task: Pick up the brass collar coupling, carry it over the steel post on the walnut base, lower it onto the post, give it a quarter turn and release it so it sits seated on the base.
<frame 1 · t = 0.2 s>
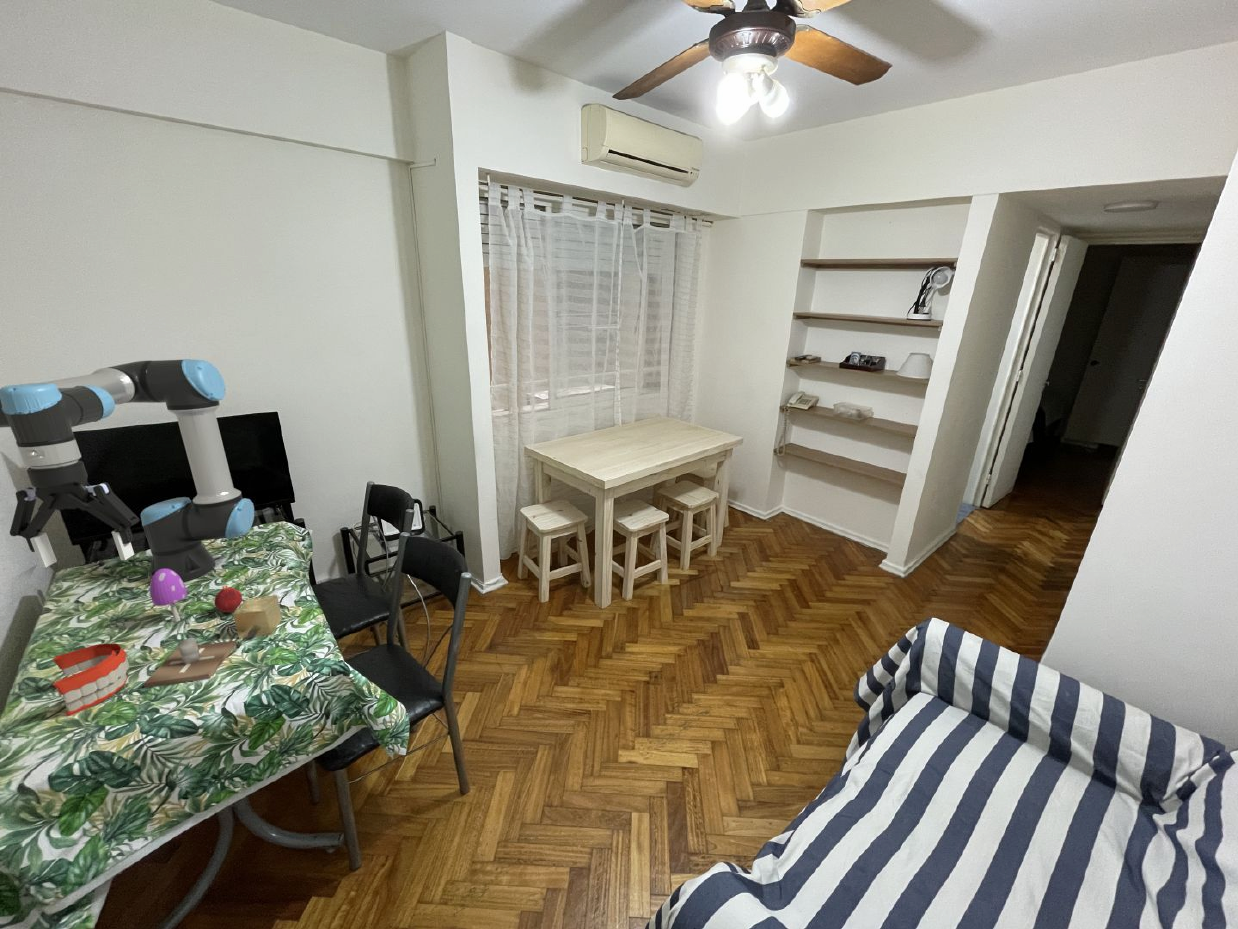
hand: (89, 561, 102), 28 cm above the table, fingers open, 13 cm apart
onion: (232, 612, 133), on the table
toy: (177, 621, 129), on the table
post block: (193, 665, 112), on the table
coupling: (261, 628, 126), on the table
toy 2: (101, 690, 105), on the table
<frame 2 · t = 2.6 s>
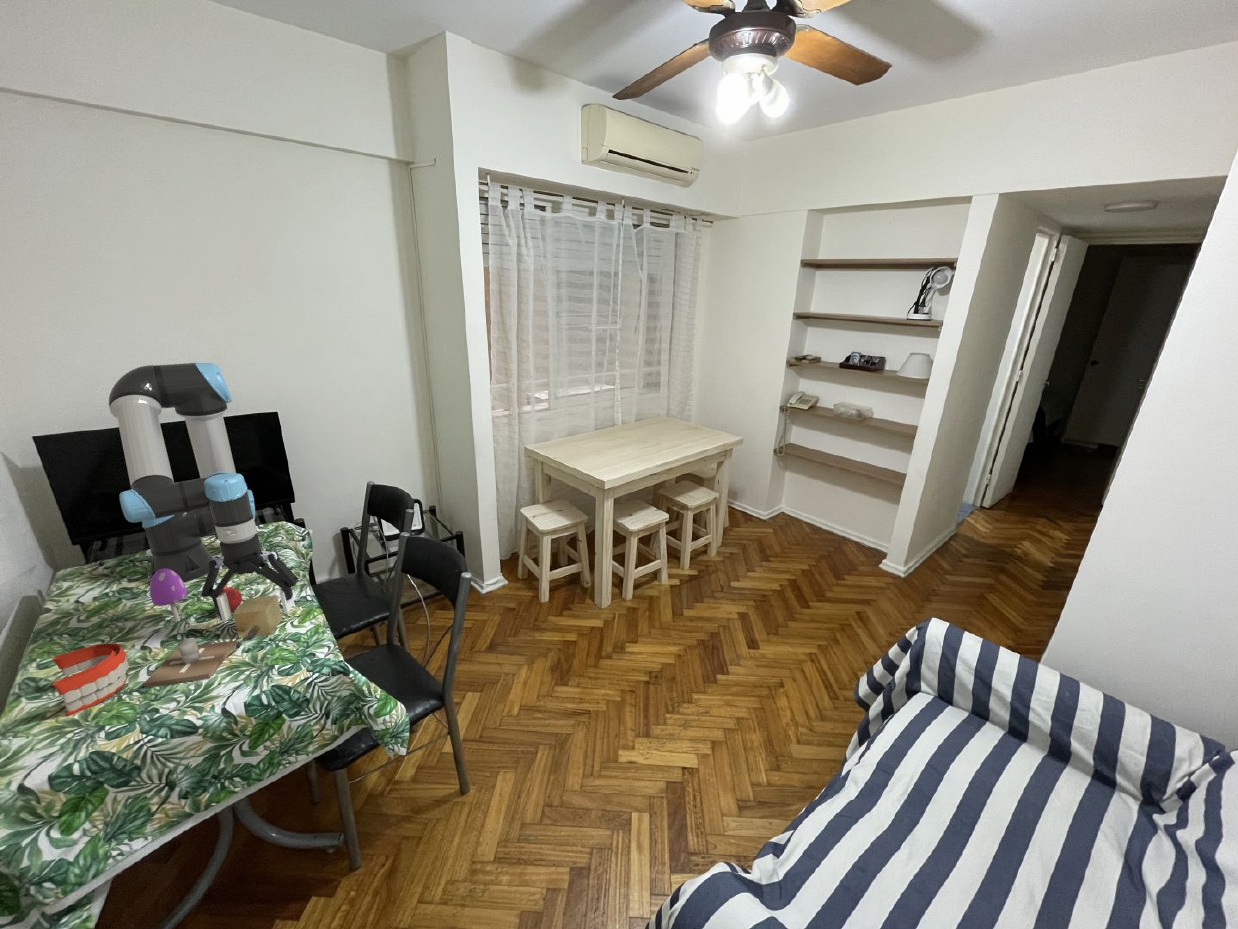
hand: (258, 614, 124), 4 cm above the table, fingers open, 13 cm apart
nothing on the table moved.
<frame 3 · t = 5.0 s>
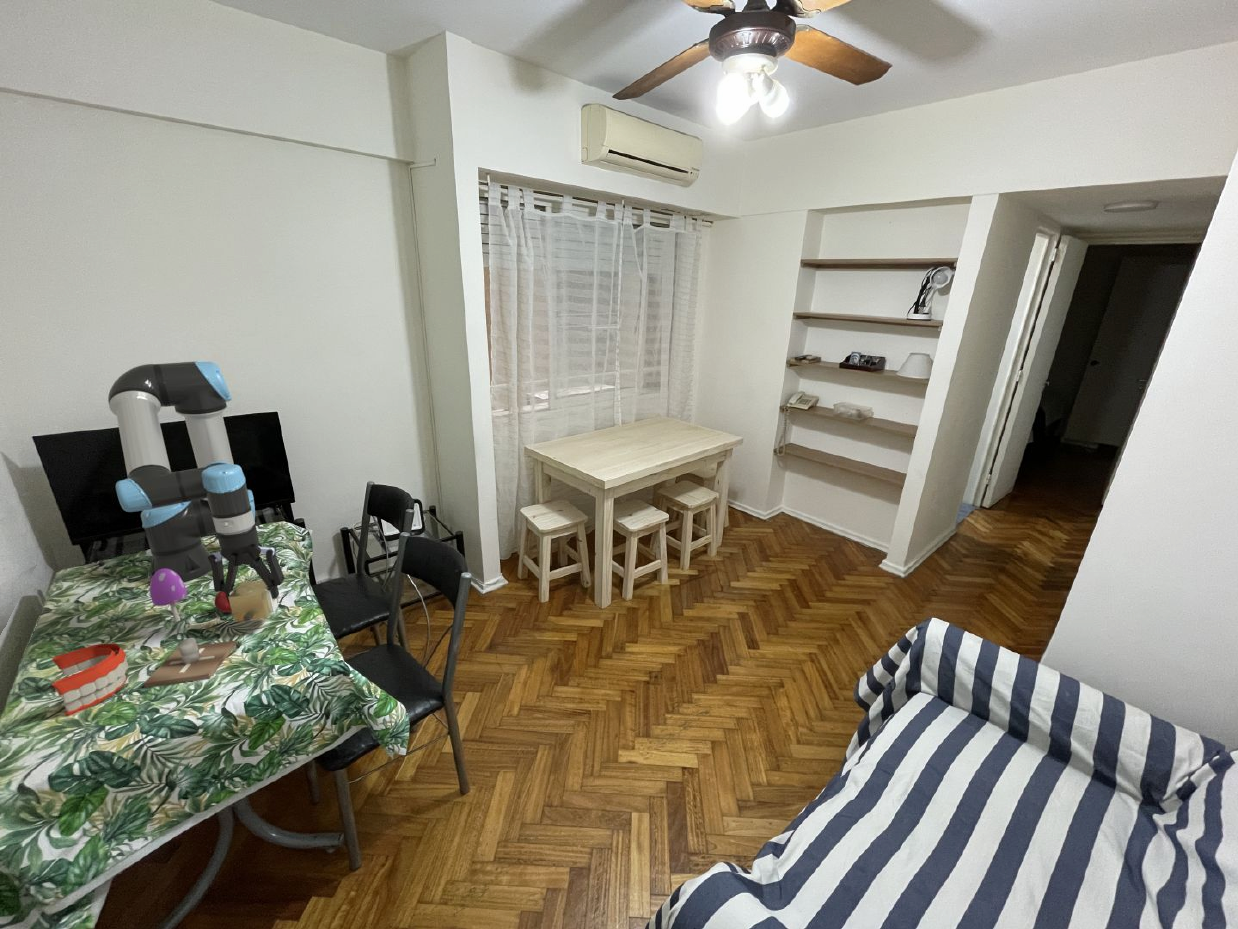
hand: (257, 610, 125), 5 cm above the table, fingers closed on coupling, 7 cm apart
coupling: (257, 612, 125), point 4 cm above the table, touching gripper
everything else where it was.
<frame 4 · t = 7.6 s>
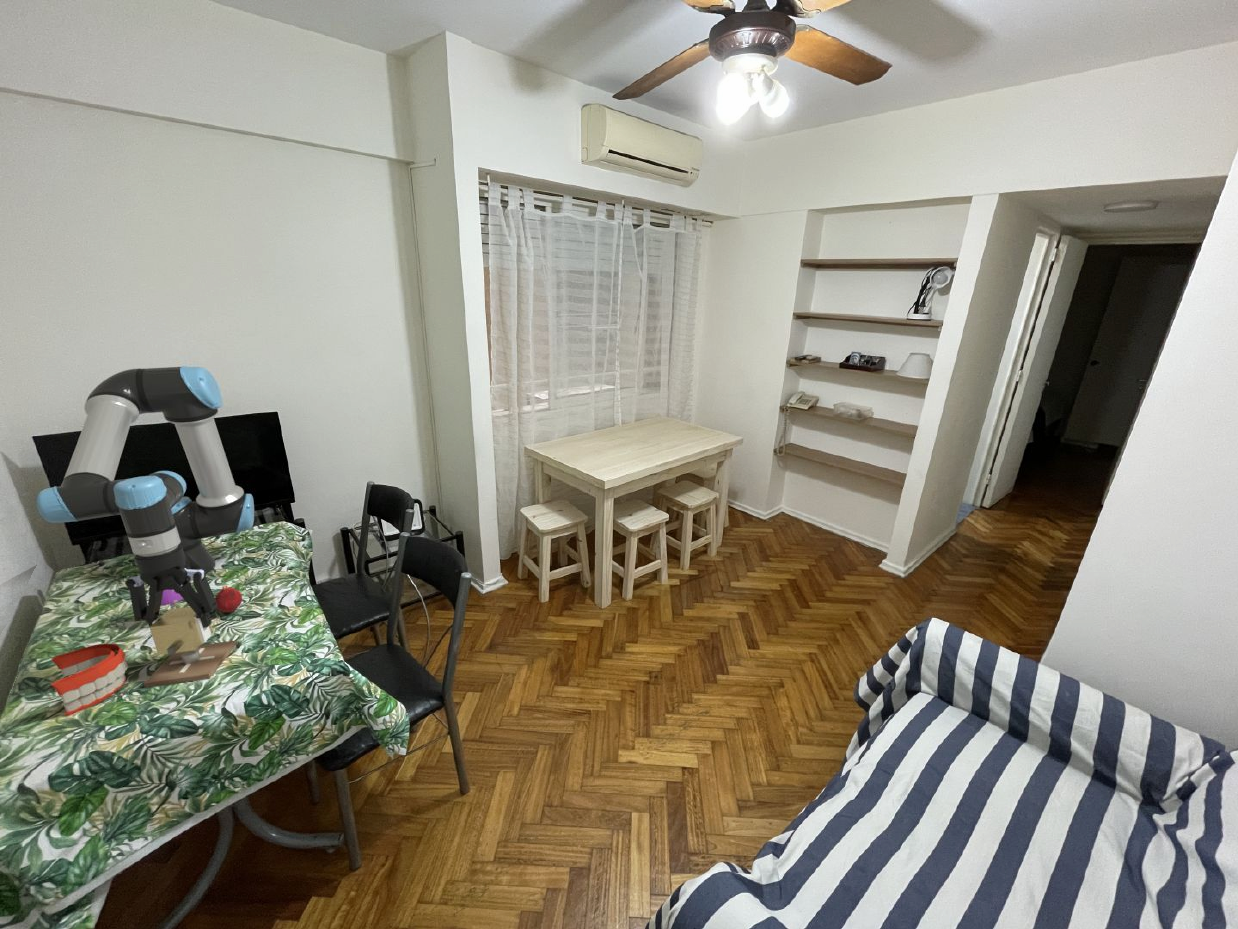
hand: (186, 641, 111), 6 cm above the table, fingers closed on coupling, 7 cm apart
coupling: (186, 642, 111), point 6 cm above the table, touching gripper
everything else where it was.
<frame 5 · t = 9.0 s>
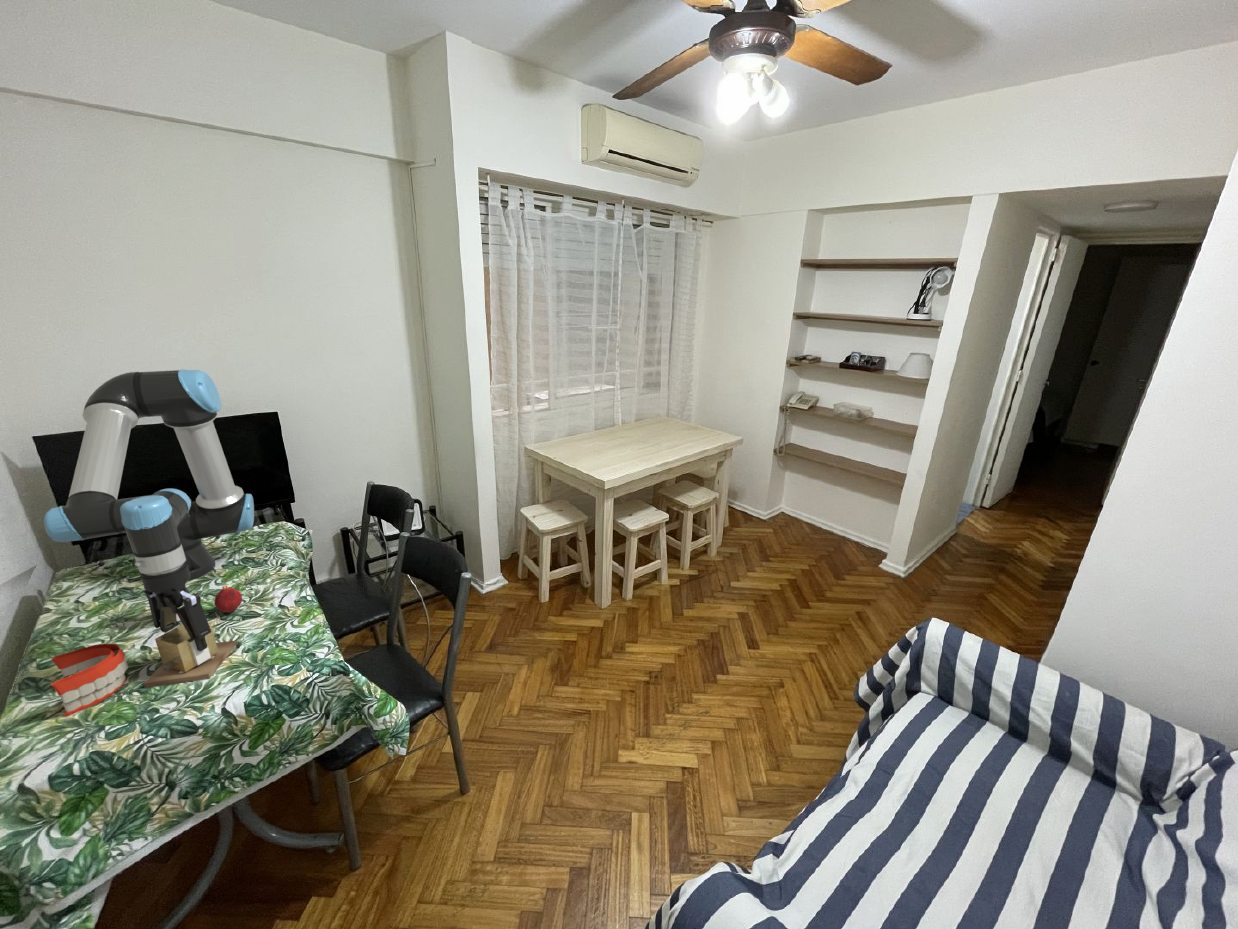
hand: (191, 657, 112), 2 cm above the table, fingers closed on coupling, 7 cm apart
coupling: (191, 658, 112), point 2 cm above the table, touching gripper
everything else where it was.
when the fingers open (2 cm above the table, at t = 10.2 s): coupling stays where it is, resting on post block.
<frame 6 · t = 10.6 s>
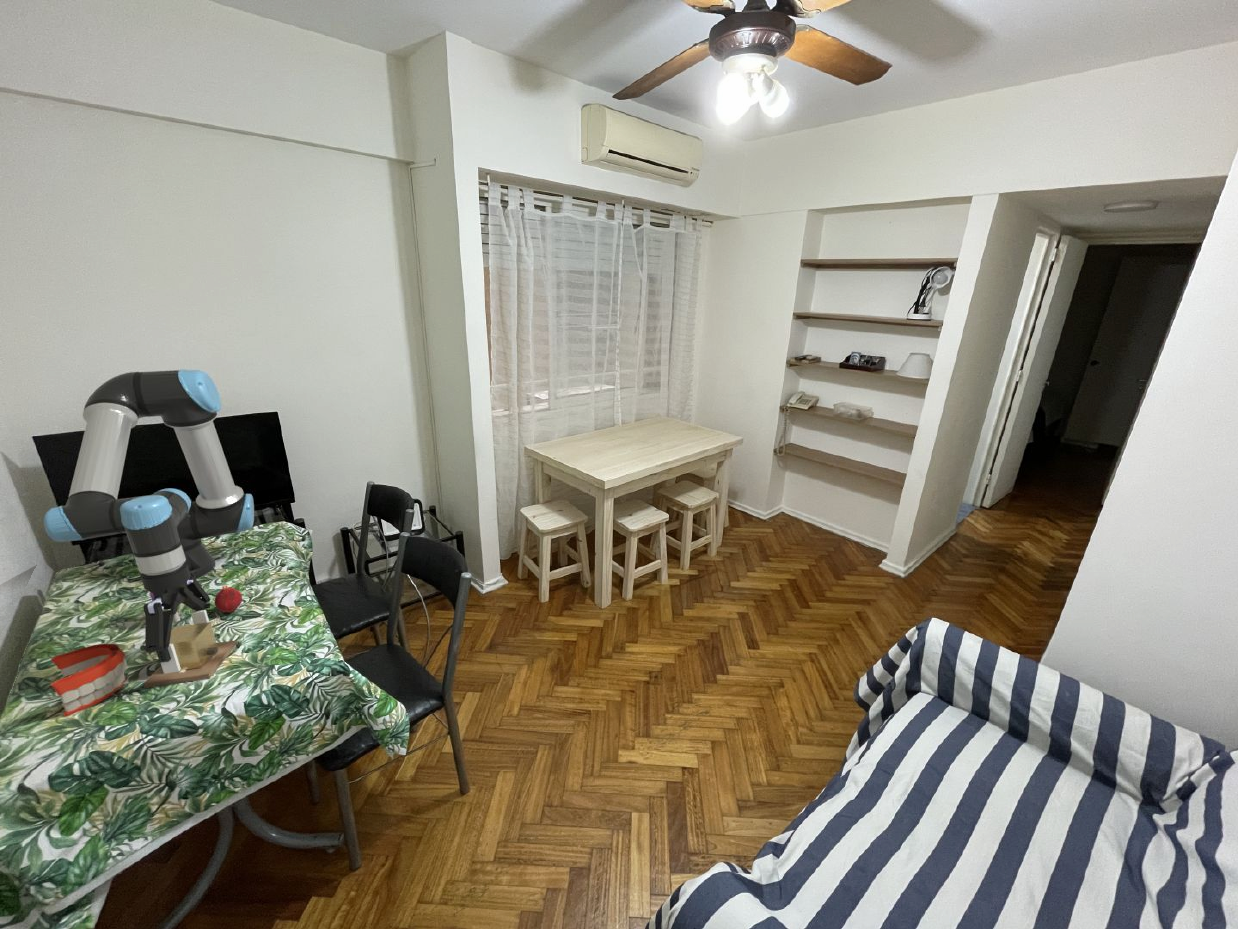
hand: (189, 652, 111), 3 cm above the table, fingers open, 12 cm apart
coupling: (192, 659, 112), point 1 cm above the table, touching post block
everything else where it was.
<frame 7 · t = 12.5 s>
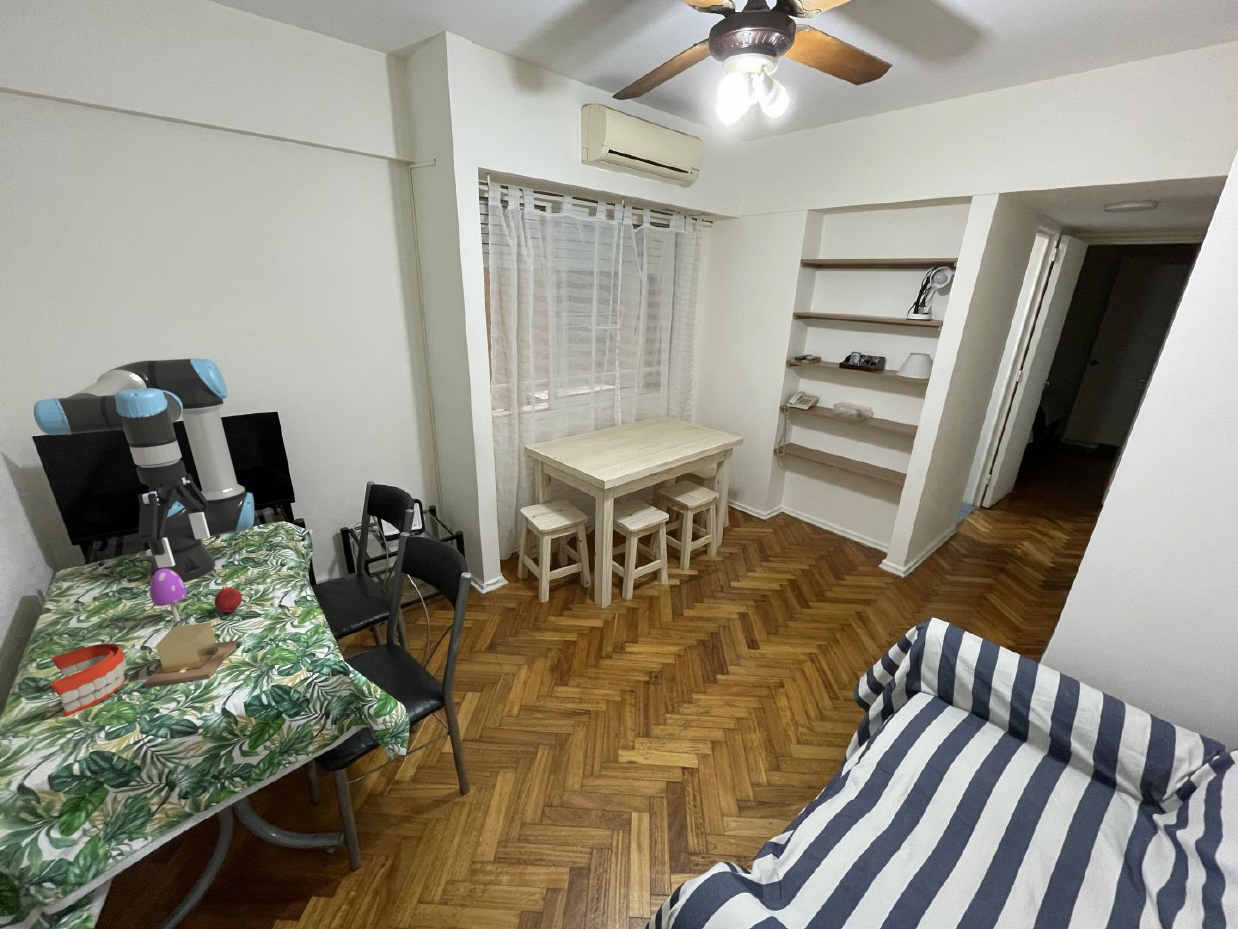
hand: (185, 551, 111), 25 cm above the table, fingers open, 13 cm apart
nothing on the table moved.
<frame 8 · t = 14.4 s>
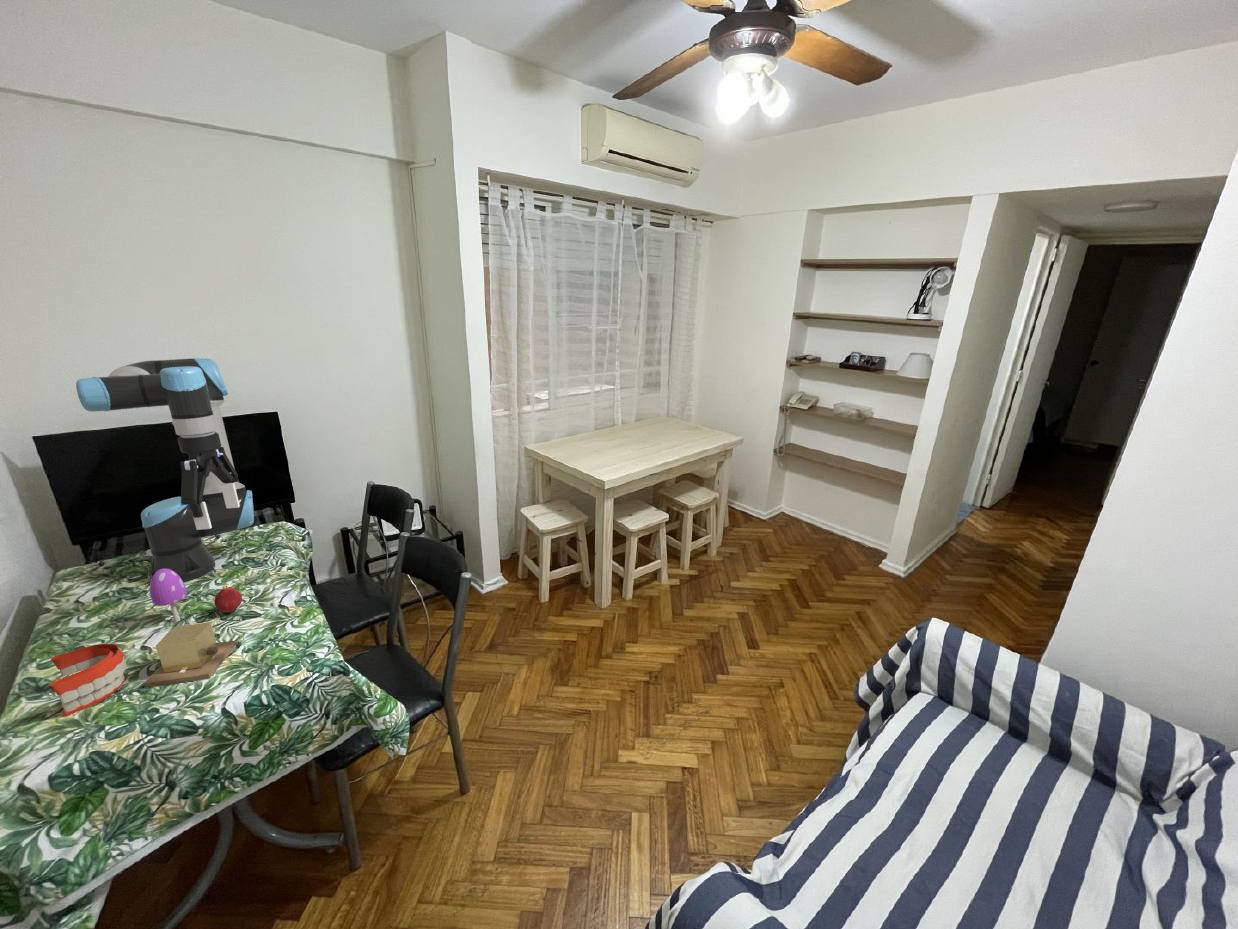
hand: (219, 517, 121), 29 cm above the table, fingers open, 13 cm apart
nothing on the table moved.
at the end: coupling 0.1 cm from the post block (horizontally); coupling point 1.4 cm above the table; coupling tilted 0° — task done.
